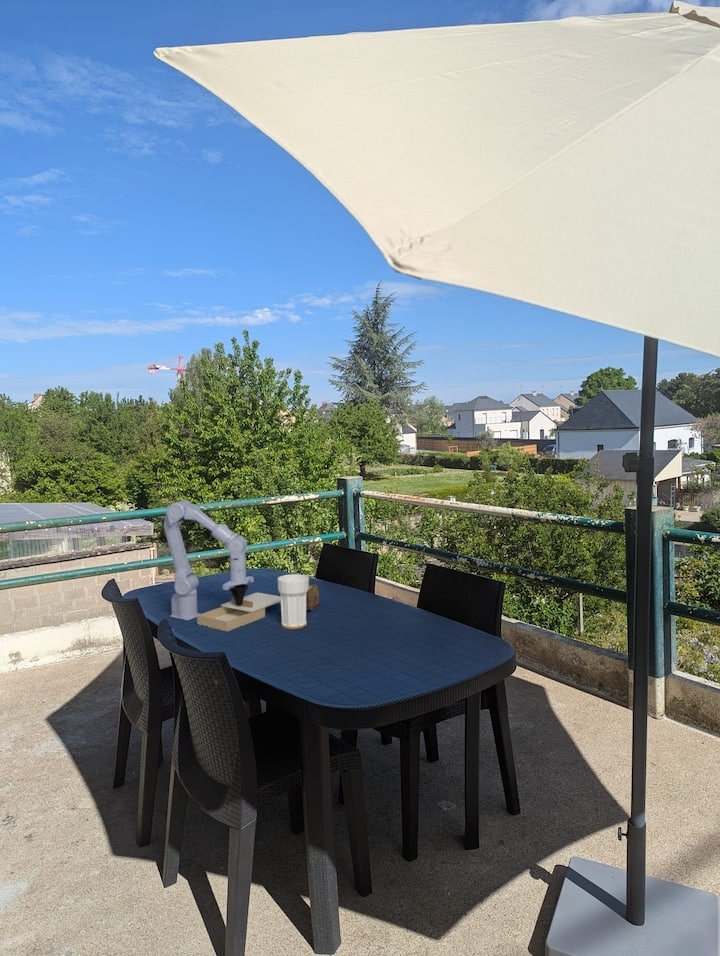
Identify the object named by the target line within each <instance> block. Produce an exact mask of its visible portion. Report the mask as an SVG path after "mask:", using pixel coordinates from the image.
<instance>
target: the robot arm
mask: <svg viewBox="0 0 720 956" xmlns="http://www.w3.org/2000/svg"><path fill="white" fill-rule="evenodd" d="M184 520H194V521H195V522H197V523H198V524H200V525H202V526H203V527H204V528H206V529H207V530H209V531H211V535H212V537H213V538H214V539H216V540H217V541H219V543H222V545H224V546H226V548H227V550H228V552H229V568H230V569H229V570H230V571H229V573H230V580H229V581H227V582H225V583H223V584H222V590H224V591H228V590H230V592H231V594H232V596H233V598H234V599H235V603H236V605H242V603H243V598H244V597H245V594H246V592H247V590H248V589H249V586H248V585H247V584H249V583H254V582H255V581H254V576H247V565H246V564H247V563H246V561H247V559H246V548H247V546H248V541H247V539H246V538H245V537H244V536H243V535H239V533H237V532H234V531H232V530H231V529H229V526H228V524H223V523H216V522H215V521H214V520H213V519H212V518H211V517H209V516H208V515H207V514H206V513H204V512H203V511H202V510H200V508H199V507H197V505H195V504H194V503H192V502H191V501H190V500H188V499H182V500H180V501H177V502H173V503H171V504H170V505H169V506H168V507H167V509H166V510H165V518H164V522H163V529H164V533H165V537H166V540H167V543H168V548H169V551H170V555H171V559H172V562H173V566H174V570H175V572H174V576H173V578H174V587H173V588H174V591H175V593H173V595H172V596H171V614H170V615H169V617H170V618H173V619H178V620H182V619H183V621H190V620H192V619H197V615H200V614H201V613H199V612H198V594H197V593H198V592H197V587H198V586H199V583H200V582H199V577H198V576H197V575H196V574H195V572H194V571H195V570H194V569H193V568H192V567H191V565H190V562H189V559H188V556H187V555H188V554H187V551H186V547H185V544H184V541H183V540H184V539H183V537H182V536H183V535H182V533H181V529H180V526H181V525H182V524H183V521H184Z"/></svg>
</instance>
